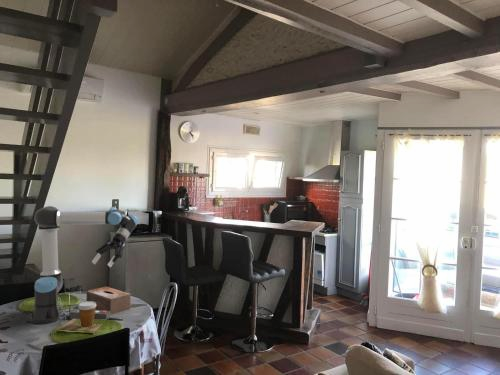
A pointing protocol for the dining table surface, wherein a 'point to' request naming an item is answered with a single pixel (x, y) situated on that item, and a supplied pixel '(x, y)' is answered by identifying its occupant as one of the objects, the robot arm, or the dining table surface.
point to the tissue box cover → (109, 299)
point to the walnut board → (74, 326)
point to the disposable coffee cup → (87, 313)
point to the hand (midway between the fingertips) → (100, 264)
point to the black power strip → (98, 315)
